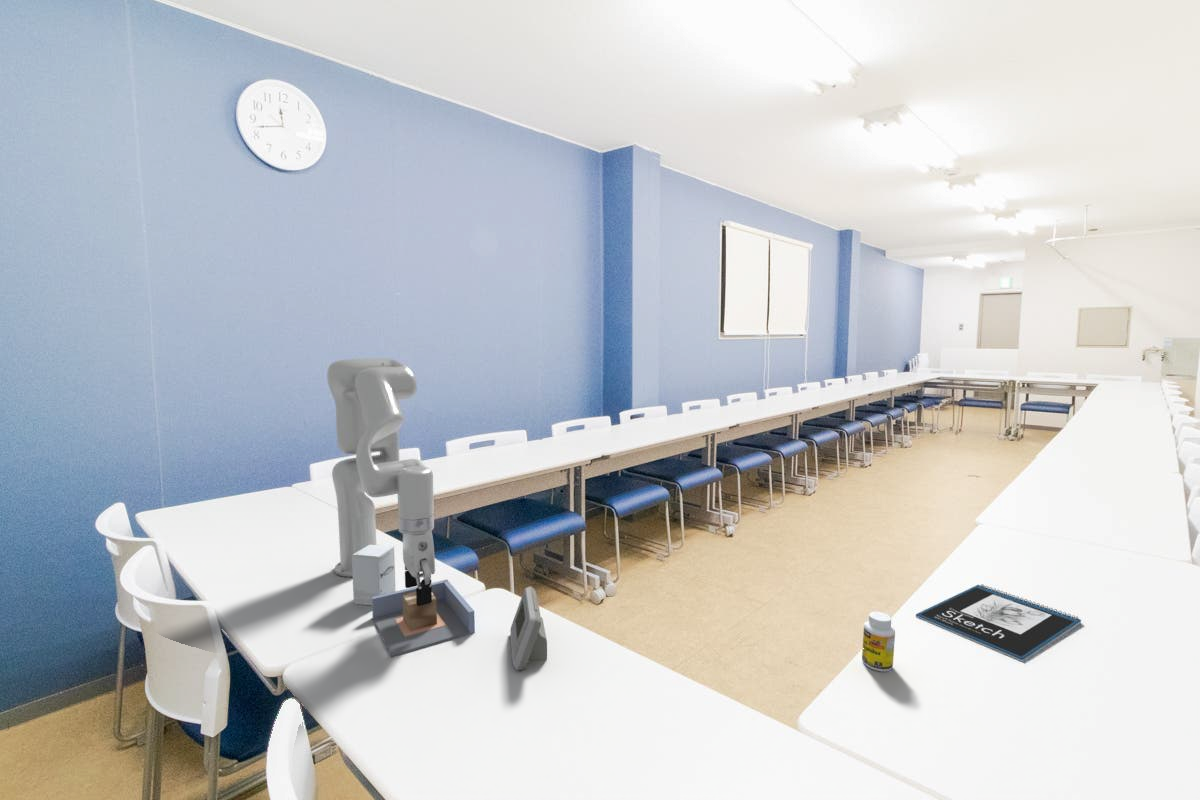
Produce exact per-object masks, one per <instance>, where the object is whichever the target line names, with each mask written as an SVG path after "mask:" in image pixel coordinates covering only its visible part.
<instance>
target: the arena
mask: <svg viewBox="0 0 1200 800" xmlns="http://www.w3.org/2000/svg"><path fill="white" fill-rule="evenodd" d="M431 584H432V593H433V595H434V596H435V598H436V606H437V624H435V625H432V626H428V627H424V628H421V629H417V630H413V631H409V629H408V627H407V626H406V624H405V622H404V620H403V602H402V595H404V594H408V593H412V592H416V588H418V586H414V587H410V588H404V589H401V590H397V591H396V592H391V593H387V594H383V595H379V596H374V597H372V605H371V612H372V614H371V615H372V619H373V621H375V622H374V624H375V623H376V624H375V626H376V625H377V626H376V627H378V628H377V630H378V632H379V634H380V633H381V634H380V636H381V635H382V636H381V638H382V637H383V638H382V640H383V639H384V640H383V642H384V644H386V645H385V646H387V647H386V649H387V648H388V649H387V651H388V650H389V651H388V653H389V652H390V653H389V655H390V657H391V658H393V657H396V656H395V655H397V656H399V655H398V654H400V655H404V654H406V653H410V652H413V651H418V650H420V649H423V648H428V647H431V646H433V645H437V644H441V643H444V642H448V641H451V640H455V639H457V638H461V637H464V636H467V635H471V634H475V633H476V631H475V630H476V629H475V628H476V627H475V623H476V622H475V610H474V608H473V607H472V606H471V605H470V603H468V602H467V601H466V599H465V598H464V597H463V596H462V595H461V594H460V593H459V592H458V590H457V589H456V588H455V587H454V586H453V585H452V583H451V582H450V581H449V579H442V580H439V581H435V582H431ZM392 656H393V657H392Z"/></svg>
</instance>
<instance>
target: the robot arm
mask: <svg viewBox="0 0 1200 800" xmlns="http://www.w3.org/2000/svg"><path fill="white" fill-rule="evenodd" d="M326 376H327V384H328V387H329V390H330V394H331V395H332V399H333V400H334V404H335V419H336V422H335V423H336V440H337V441H336V443H337V446H338V449H339V451H340V452H341V453H342V454H346V455H355V457H351V458H345V459H343V460H341V461H338V462H337V463H335V465H334V466H333V468H332V471H331V477H332V478H331V479H332V481H333V487H334V491H335V496H336V504H337V517H338V519H337V520H338V535H339V537H338V539H339V554H340V555H339V556H340V557H339V559H340V562H338V563H337V564H335V566H334V573H335V574H336V575H337V574H338V576H341V577H345V576H346V578H348V577H349V578H351V577H352V578H353V573H352V555H353V554H354V553H356V552H358V551H359V550H361V549H363V548H364V547H366V546H368V545H378V543H377V528H376V527H377V524H376V523H377V522H376V506H375V504H374V502H373V500H372V499H371V498H382V497H388V496H394V495H397V511H398V512H397V514H398V517H397V518H398V532H399V533H400V534H402V559H403V563H404V570H405V571H404V584H405V585H404V587H405V589H408V588H413V587H417V586H418V588H416V604H417V606H421V605H425V604H429V603H431V602H432V584H431V583H433V582H432V575H434V574H436V562H435V561H436V559H435V558H436V557H435V546H434V545H435V544H434V539H433V538H434V537H433V532H432V531H433V530H434V529H435V512H434V511H435V509H434V508H435V507H434V506H435V505H434V503H435V502H434V473H433V471H432V469H431V468H429V467H427V466H425V464H424V463H423V462H422V461H421V460H419V459H415V458H409V459H402V460H400V437H399V429H400V428H401V427H402V426H403V425H404V422H405V418H404V415H403V412H402V409H401V406H400V403H399V400H410V399H412V398H414V396H415V395H416V392H417V388H418V385H417V383H418V382H417V380H416V376H415V374H414V372H413V370H412V369H411V368H409V366H407V365H405V364H404V363H402V362H400V361H398V360H396V359H393V358H346V359H339V360H335V361H333V362H331V363H330V364H329V366H328V369H327V375H326ZM373 452H379V454H375V455H372V453H373ZM370 497H371V498H370ZM421 578H423V579H421Z"/></svg>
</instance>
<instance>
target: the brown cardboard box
mask: <svg viewBox="0 0 1200 800" xmlns="http://www.w3.org/2000/svg"><path fill="white" fill-rule="evenodd" d="M402 602H403V620H404V622H405V624H406V626H407V627H408V629H409V631H413V630H417V629H421V628H424V627H428V626H432V625H435V624H437V606H436V598H435V596H434V595H433V593H432V602H431V603H429V604H425V605H421V606H417V604H416V592H412V593H408V594H404V595H402Z"/></svg>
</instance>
